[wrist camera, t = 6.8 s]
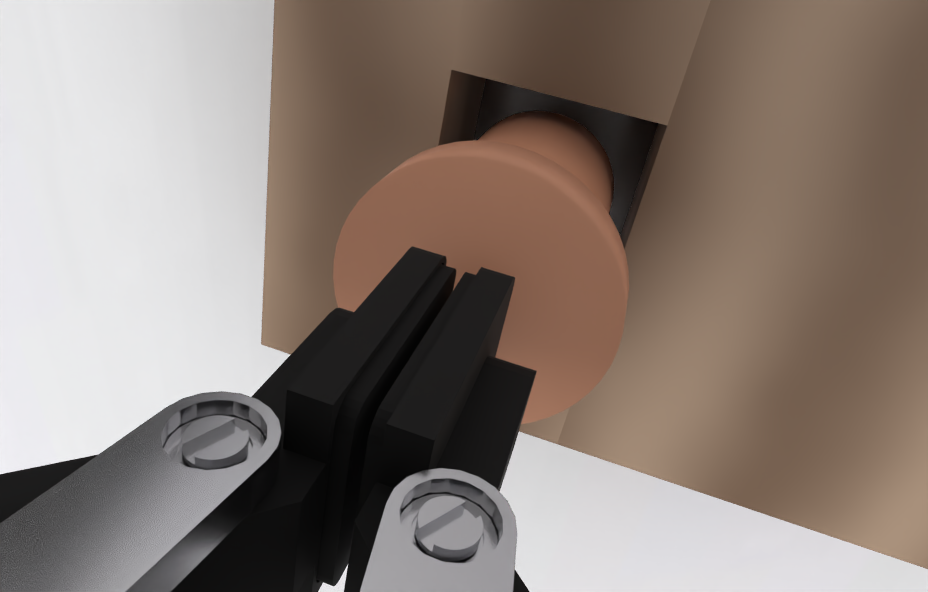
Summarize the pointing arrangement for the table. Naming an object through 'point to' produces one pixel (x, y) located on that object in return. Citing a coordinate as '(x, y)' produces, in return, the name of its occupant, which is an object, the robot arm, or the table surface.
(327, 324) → the robot arm
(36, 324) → the table surface
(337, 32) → the button board
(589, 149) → the terracotta plunger
